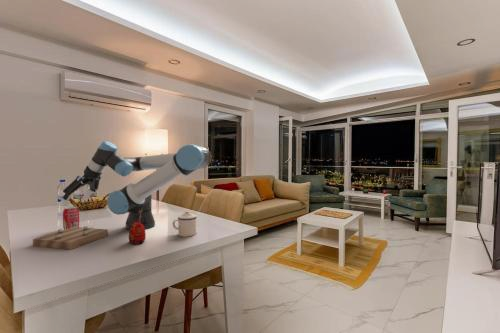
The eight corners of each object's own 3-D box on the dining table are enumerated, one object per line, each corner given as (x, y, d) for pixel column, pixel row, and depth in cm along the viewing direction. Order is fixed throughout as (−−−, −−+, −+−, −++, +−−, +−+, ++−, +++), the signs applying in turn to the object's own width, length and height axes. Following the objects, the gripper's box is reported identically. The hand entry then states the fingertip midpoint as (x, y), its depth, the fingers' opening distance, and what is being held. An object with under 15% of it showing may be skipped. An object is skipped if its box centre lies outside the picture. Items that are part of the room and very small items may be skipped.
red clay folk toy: (125, 242, 114) (125, 209, 114) (139, 238, 120) (139, 207, 119) (134, 246, 110) (134, 211, 109) (149, 241, 116) (149, 209, 115)
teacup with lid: (198, 231, 131) (198, 209, 131) (193, 237, 122) (193, 213, 122) (176, 231, 132) (176, 209, 132) (169, 236, 123) (169, 212, 123)
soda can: (68, 228, 138) (68, 206, 137) (82, 228, 138) (81, 206, 138) (59, 232, 131) (59, 208, 130) (74, 231, 131) (73, 208, 131)
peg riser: (107, 235, 125) (107, 226, 125) (70, 249, 105) (70, 238, 105) (74, 232, 129) (74, 223, 129) (33, 245, 110) (32, 235, 110)
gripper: (106, 164, 143) (87, 194, 145) (68, 165, 118) (46, 201, 120) (116, 172, 142) (97, 202, 144) (80, 174, 117) (57, 211, 119)
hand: (74, 201), depth 132 cm, fingers open, 13 cm apart
